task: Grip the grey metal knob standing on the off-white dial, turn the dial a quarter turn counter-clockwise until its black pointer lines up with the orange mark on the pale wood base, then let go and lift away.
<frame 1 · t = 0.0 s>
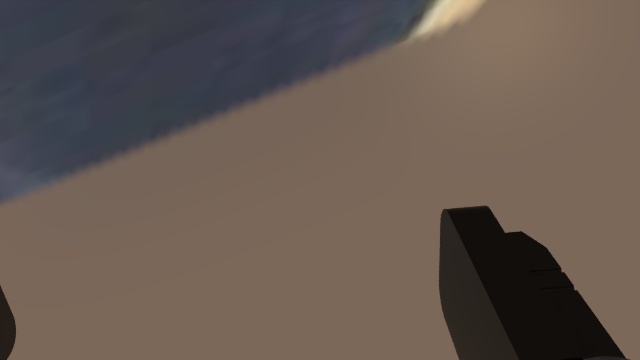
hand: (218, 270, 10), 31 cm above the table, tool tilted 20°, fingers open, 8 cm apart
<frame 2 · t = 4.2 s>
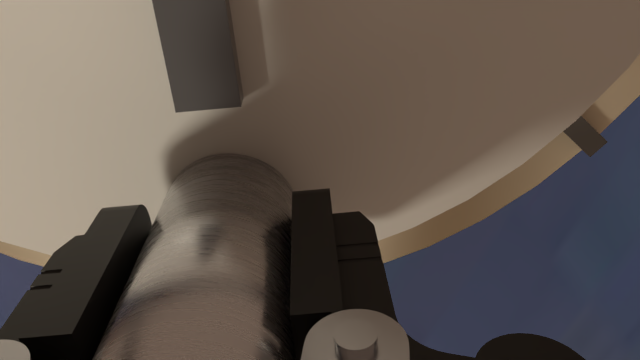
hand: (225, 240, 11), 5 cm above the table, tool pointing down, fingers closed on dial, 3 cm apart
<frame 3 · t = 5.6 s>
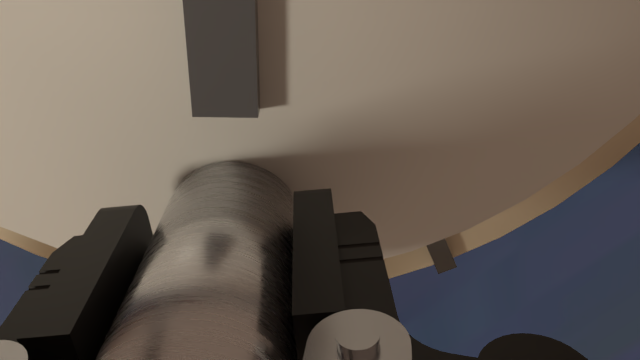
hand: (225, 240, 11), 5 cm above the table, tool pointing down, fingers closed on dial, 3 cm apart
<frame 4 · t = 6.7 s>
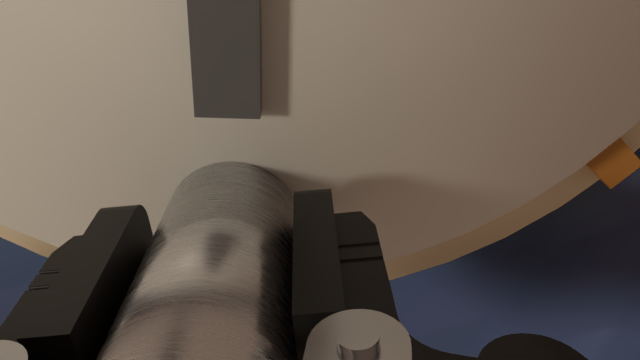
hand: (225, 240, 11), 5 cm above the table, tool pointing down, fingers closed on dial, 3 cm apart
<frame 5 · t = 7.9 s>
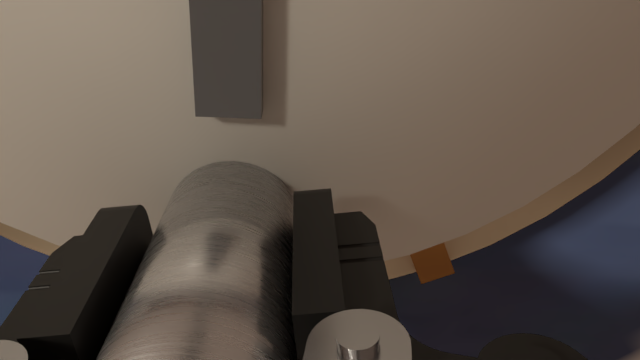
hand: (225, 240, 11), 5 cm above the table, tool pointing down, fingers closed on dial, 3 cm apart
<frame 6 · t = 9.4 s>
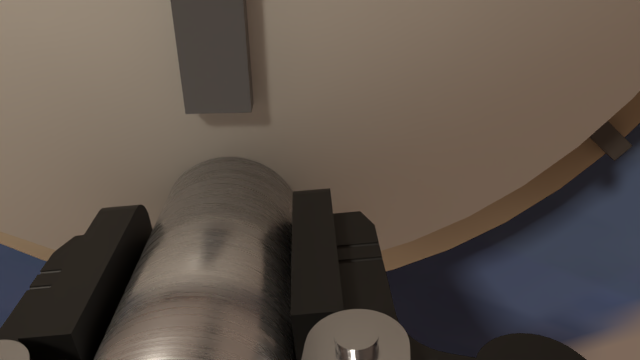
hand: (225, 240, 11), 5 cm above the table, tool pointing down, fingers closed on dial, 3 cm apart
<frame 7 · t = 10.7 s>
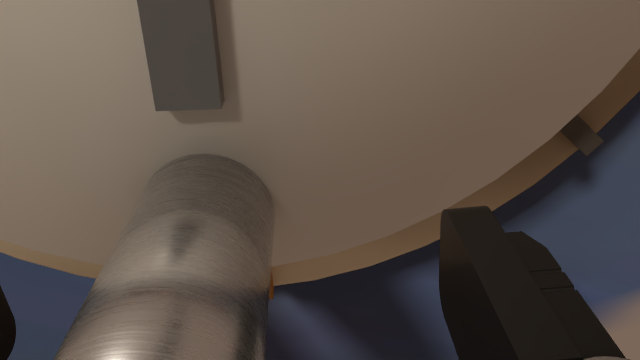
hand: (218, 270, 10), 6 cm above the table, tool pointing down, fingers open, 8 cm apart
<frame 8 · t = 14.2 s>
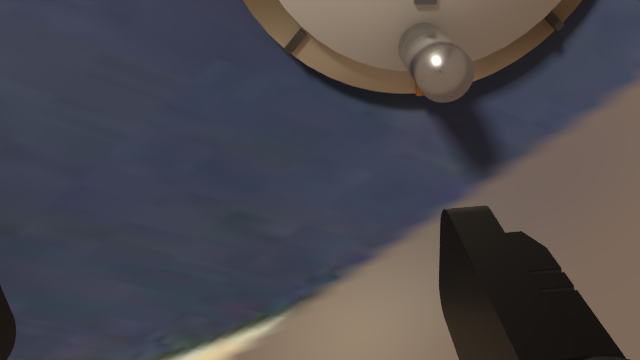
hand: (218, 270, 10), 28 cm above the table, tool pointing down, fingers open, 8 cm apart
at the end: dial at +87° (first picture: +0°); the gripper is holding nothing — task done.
